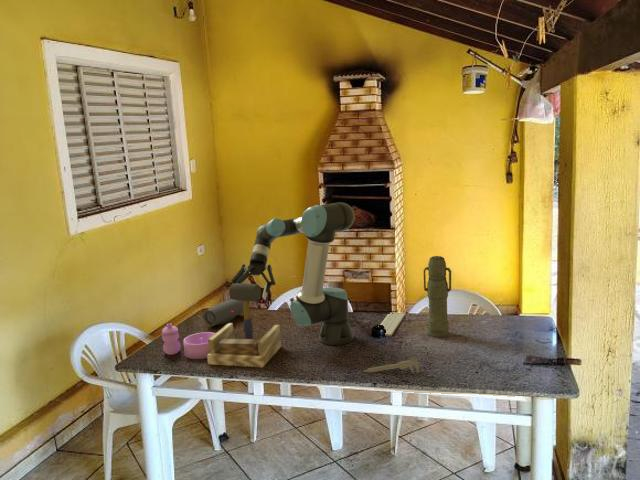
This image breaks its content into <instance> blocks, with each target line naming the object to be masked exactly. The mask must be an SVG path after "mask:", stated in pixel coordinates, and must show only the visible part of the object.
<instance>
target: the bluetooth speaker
mask: <svg viewBox="0 0 640 480" xmlns="http://www.w3.org/2000/svg"><path fill="white" fill-rule="evenodd" d="M242 313H244V308H243V301H239V300H233V299H231V298H230V299H228V300H225V301H222V302H221V303H218V304H215V305H213V306H212V307H210V308H208V309H206V310H204V312H203V320H204V322H205V323H206V325H208V326H211V327H214V326H217V325H220V324H221V325H223V324H228V323H230V322H231V321H232V320H235V318H236V316H238V315H240V314H242Z"/></svg>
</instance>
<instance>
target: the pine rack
mask: <svg viewBox="0 0 640 480" xmlns="http://www.w3.org/2000/svg"><path fill="white" fill-rule="evenodd" d="M280 327H281V326H280V324H274V325H273V326H272V327H271V328H270V329H269V330H268V331H267V332H266V333H265V334H263V336H262V337H261V338H260V340H259V341H258V349H259V356H253V355H235V354H220V350H219V342H220V341H221V340H222V339H235V334H234V323H233V322H227V323H226V324H225V325H224V326H222V328H221V329H219V330H218V331H217V332H214V333H215V334H214V335H213V336H212V337H210V338H209V339H208V345H209V354H208V355H207V358H206V359H207V365H216V366H217V365H218V366H232V367H235V366H236V367H247V366H248V368H249V366H250V368H251V367H252V368H263V367H265V365H267V363H268V362H269V361H270V360H271V359H272V357H274V355H276V353H277V352H278V351H279V350H280V349H281V347H282V343H281V329H280ZM233 365H234V366H233Z"/></svg>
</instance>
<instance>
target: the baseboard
mask: <svg viewBox="0 0 640 480" xmlns="http://www.w3.org/2000/svg"><path fill="white" fill-rule="evenodd" d="M387 313H390V314H387ZM392 313H393V314H392ZM386 314H387V315H386V316H385V317H384V319H383V320H382V321H381V322H380V324H379V325H383V326H384V327H385V329H386V333H385V336H384V337H393V335H394V333H395V332H396V330H397V329H398V327H399V325H400V324H401V322H402V321H403V319H404V318H405V316H406V312H403V311H400V310H398V309H394V311H390V312H389V311H386Z"/></svg>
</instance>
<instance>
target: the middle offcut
mask: <svg viewBox="0 0 640 480" xmlns="http://www.w3.org/2000/svg"><path fill="white" fill-rule="evenodd" d="M220 354H235V355H253V356H259V349H258V350H257V351H237V350H220Z"/></svg>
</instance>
